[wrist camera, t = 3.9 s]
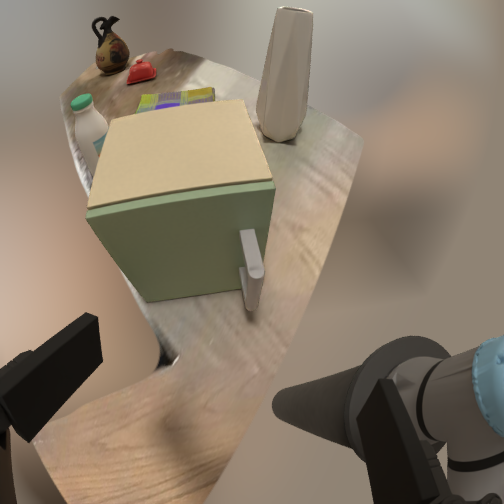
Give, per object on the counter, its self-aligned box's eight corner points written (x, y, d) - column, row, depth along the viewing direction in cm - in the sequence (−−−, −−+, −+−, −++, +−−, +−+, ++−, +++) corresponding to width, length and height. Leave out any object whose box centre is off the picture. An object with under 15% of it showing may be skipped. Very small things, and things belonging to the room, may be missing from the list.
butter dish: (129, 76, 85) (126, 59, 78) (156, 70, 87) (154, 52, 80) (126, 87, 80) (122, 68, 72) (156, 80, 82) (153, 60, 74)
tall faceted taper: (243, 134, 63) (248, 6, 35) (271, 117, 68) (284, 4, 40) (283, 155, 60) (305, 15, 31) (309, 136, 64) (335, 16, 36)
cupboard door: (267, 320, 40) (294, 241, 22) (149, 338, 38) (76, 274, 19) (257, 280, 44) (273, 180, 25) (146, 296, 41) (86, 210, 22)
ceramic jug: (125, 62, 96) (117, 10, 70) (136, 67, 91) (127, 9, 65) (93, 75, 90) (81, 22, 64) (100, 82, 84) (87, 23, 59)
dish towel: (143, 99, 73) (141, 92, 71) (217, 91, 76) (217, 84, 73) (129, 127, 65) (127, 119, 62) (216, 118, 67) (216, 109, 64)
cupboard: (257, 279, 44) (272, 177, 25) (146, 295, 41) (86, 207, 22) (239, 202, 52) (242, 99, 33) (146, 216, 49) (111, 119, 30)
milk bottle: (97, 185, 53) (65, 113, 36) (88, 169, 56) (61, 103, 39) (125, 168, 56) (102, 94, 39) (115, 154, 59) (93, 85, 42)
